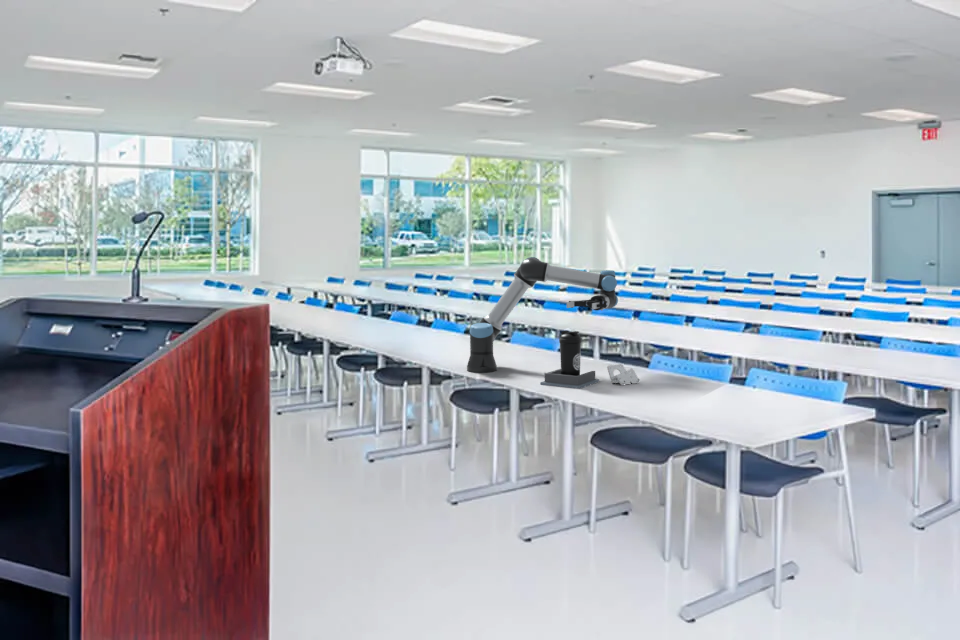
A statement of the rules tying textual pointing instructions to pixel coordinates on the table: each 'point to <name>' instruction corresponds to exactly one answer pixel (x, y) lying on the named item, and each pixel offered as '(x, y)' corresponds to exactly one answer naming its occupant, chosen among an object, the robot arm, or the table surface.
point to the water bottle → (570, 352)
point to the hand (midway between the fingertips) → (579, 305)
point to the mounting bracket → (622, 375)
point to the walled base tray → (569, 379)
